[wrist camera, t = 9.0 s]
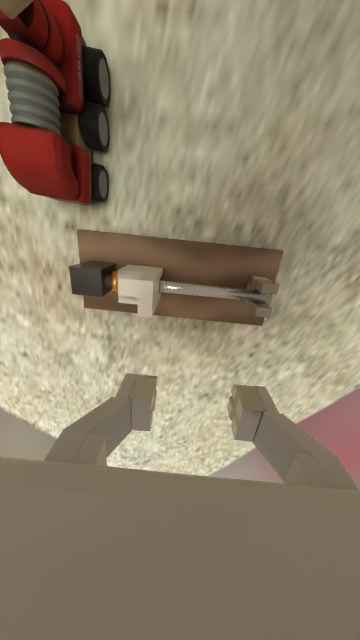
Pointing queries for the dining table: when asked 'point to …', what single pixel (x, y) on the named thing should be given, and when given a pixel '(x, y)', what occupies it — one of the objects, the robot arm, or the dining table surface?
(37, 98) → the toy fire truck
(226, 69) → the dining table surface
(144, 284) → the sleeve
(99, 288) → the rod
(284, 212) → the dining table surface
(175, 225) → the dining table surface
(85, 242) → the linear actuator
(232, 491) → the robot arm
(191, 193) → the dining table surface
